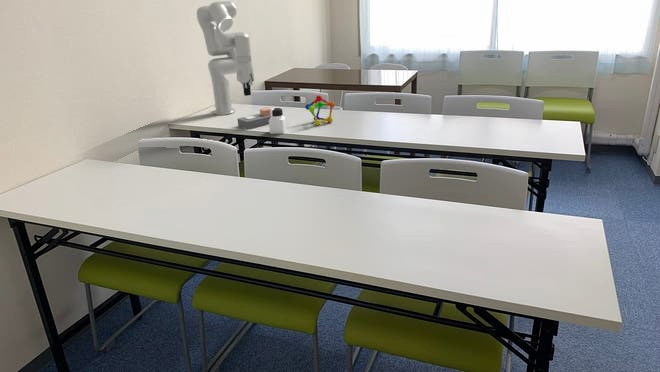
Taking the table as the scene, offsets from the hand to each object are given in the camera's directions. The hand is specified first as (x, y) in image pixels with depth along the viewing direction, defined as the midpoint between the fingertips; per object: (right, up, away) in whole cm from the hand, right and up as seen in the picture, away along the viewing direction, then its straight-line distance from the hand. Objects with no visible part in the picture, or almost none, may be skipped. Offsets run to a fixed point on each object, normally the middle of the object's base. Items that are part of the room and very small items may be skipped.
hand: (247, 95), depth 254 cm
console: (+5, -14, +9) cm, 17 cm away
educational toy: (+37, -14, +6) cm, 40 cm away
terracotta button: (+8, -10, +11) cm, 17 cm away
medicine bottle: (+17, -20, -7) cm, 27 cm away
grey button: (+1, -15, +6) cm, 16 cm away
